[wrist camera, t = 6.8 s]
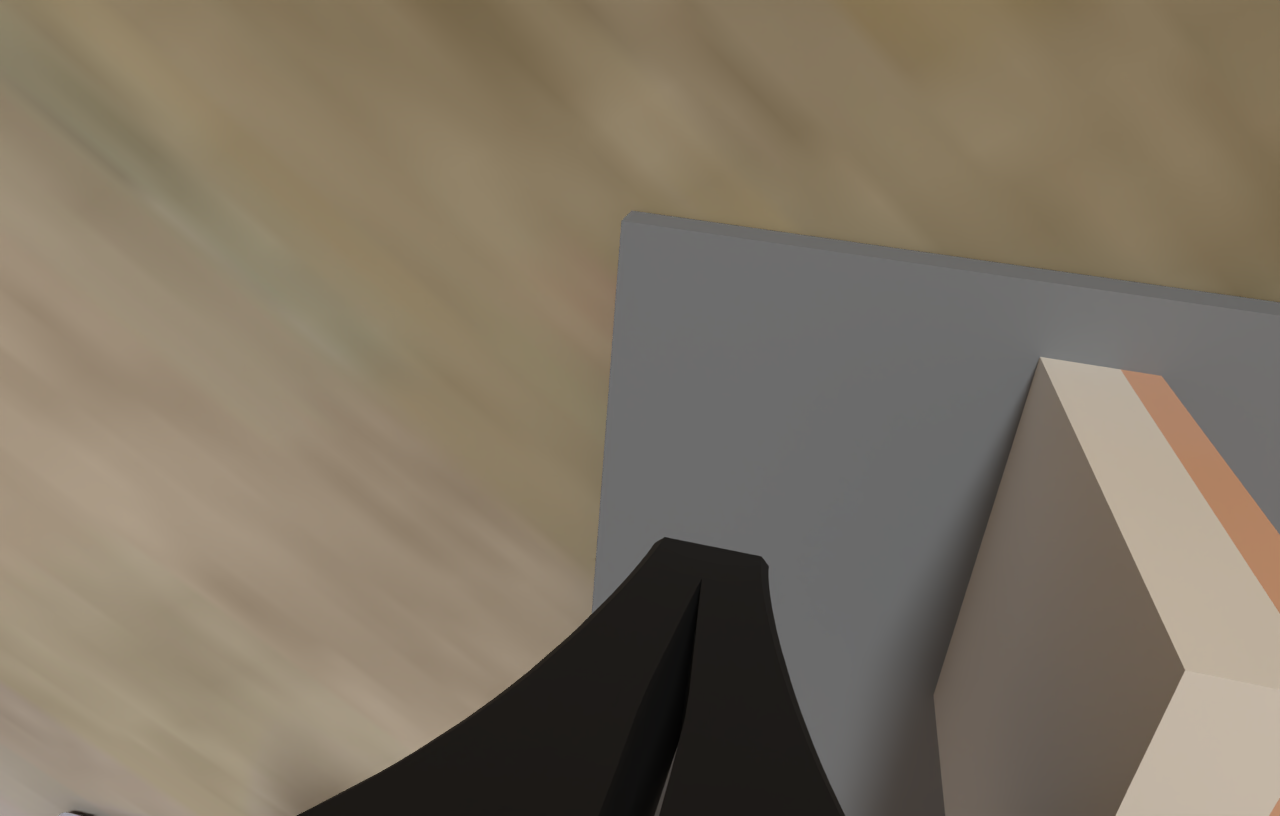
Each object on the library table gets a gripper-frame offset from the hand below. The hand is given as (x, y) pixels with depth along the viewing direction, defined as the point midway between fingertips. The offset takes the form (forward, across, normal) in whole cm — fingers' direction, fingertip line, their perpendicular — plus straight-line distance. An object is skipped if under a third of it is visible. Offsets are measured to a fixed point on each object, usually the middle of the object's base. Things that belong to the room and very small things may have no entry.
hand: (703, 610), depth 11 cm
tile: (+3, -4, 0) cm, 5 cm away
